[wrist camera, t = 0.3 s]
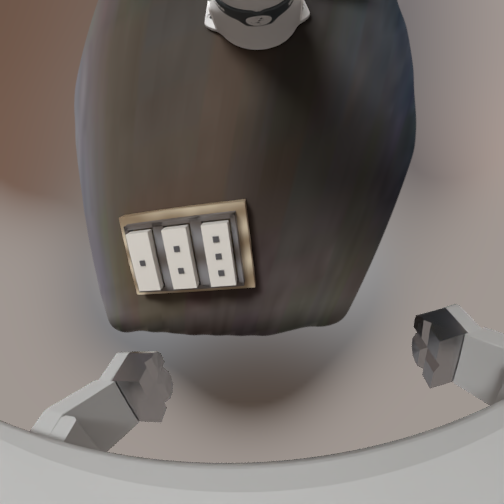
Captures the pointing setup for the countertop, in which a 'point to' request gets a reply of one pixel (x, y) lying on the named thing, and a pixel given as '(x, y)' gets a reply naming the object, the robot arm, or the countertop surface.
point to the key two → (180, 256)
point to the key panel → (195, 211)
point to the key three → (219, 253)
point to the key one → (145, 260)
